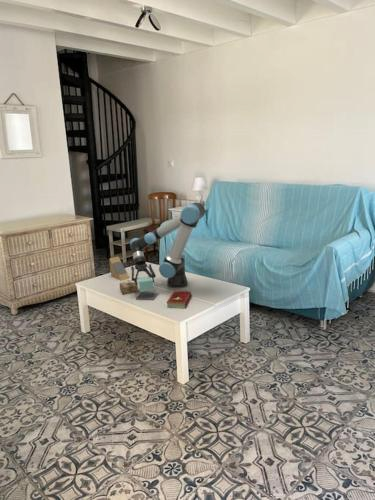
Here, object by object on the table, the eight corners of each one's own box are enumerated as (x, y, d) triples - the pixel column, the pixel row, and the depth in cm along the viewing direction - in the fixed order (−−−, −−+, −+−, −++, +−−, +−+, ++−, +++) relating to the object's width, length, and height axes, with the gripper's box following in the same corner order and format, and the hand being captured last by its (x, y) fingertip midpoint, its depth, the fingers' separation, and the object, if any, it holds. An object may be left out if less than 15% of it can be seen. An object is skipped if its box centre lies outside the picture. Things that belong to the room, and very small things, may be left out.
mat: (157, 293, 274) (157, 293, 274) (153, 300, 263) (153, 299, 262) (140, 293, 276) (140, 292, 276) (135, 299, 265) (135, 298, 264)
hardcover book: (191, 296, 268) (191, 290, 266) (185, 309, 248) (185, 302, 247) (174, 296, 270) (173, 290, 269) (166, 308, 250) (166, 301, 249)
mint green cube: (149, 286, 274) (149, 276, 272) (153, 290, 266) (152, 280, 264) (137, 287, 271) (136, 278, 269) (140, 292, 263) (139, 282, 261)
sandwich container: (121, 281, 303) (119, 262, 300) (110, 276, 314) (109, 258, 311) (130, 278, 309) (129, 259, 305) (119, 274, 320) (118, 256, 316)
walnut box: (136, 287, 288) (135, 277, 287) (140, 292, 278) (139, 282, 277) (120, 289, 284) (119, 280, 283) (123, 294, 274) (122, 284, 273)
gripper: (153, 259, 282) (160, 288, 272) (123, 263, 275) (129, 292, 264) (155, 254, 276) (162, 283, 265) (124, 258, 269) (130, 287, 258)
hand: (146, 288), depth 265 cm, fingers closed on mint green cube, 9 cm apart
